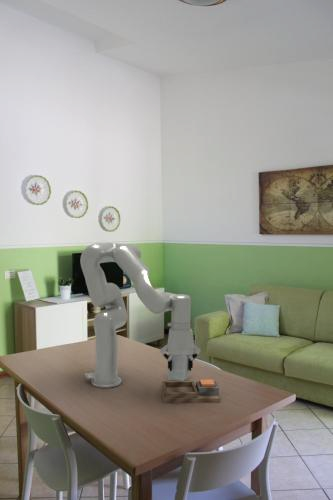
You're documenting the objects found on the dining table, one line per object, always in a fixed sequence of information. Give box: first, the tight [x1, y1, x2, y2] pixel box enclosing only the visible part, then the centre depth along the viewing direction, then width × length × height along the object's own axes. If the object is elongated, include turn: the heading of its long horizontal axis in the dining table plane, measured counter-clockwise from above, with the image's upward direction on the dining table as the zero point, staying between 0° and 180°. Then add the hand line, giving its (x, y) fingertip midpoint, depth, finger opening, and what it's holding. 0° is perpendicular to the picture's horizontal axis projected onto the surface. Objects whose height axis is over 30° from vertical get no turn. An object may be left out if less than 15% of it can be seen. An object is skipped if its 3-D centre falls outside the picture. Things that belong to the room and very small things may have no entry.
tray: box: [160, 380, 221, 404], centre depth 173 cm, size 22×14×4 cm, turn 94°
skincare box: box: [171, 350, 190, 381], centre depth 172 cm, size 6×4×12 cm
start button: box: [199, 379, 215, 387], centre depth 174 cm, size 5×5×2 cm
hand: (180, 369), depth 172 cm, fingers closed on skincare box, 7 cm apart
